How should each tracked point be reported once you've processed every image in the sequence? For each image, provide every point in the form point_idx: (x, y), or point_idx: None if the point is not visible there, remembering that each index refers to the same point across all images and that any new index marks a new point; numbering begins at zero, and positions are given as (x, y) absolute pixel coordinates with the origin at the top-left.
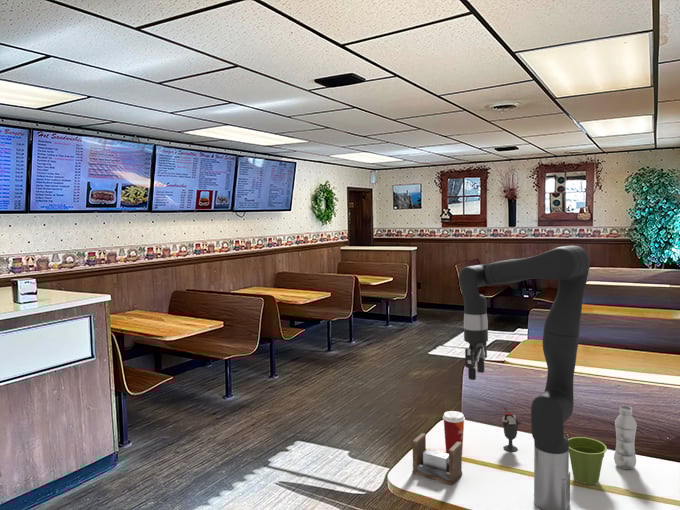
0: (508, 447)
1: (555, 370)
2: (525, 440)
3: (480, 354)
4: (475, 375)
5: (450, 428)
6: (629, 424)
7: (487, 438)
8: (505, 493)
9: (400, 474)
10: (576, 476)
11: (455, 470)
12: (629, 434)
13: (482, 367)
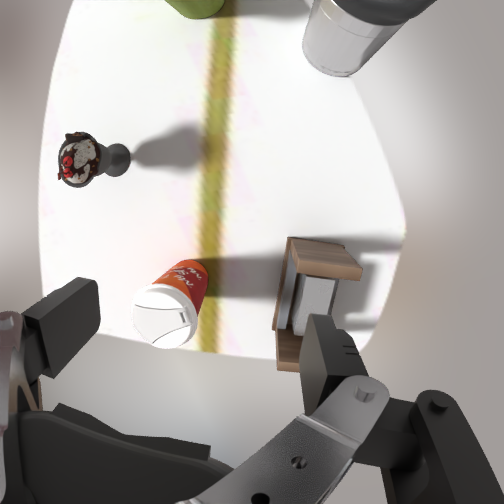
0: (118, 163)
1: None
2: None
3: (66, 441)
4: (328, 330)
5: (198, 311)
6: None
7: (89, 221)
8: (332, 132)
9: None
10: (217, 7)
11: (334, 249)
12: None
13: (72, 306)
